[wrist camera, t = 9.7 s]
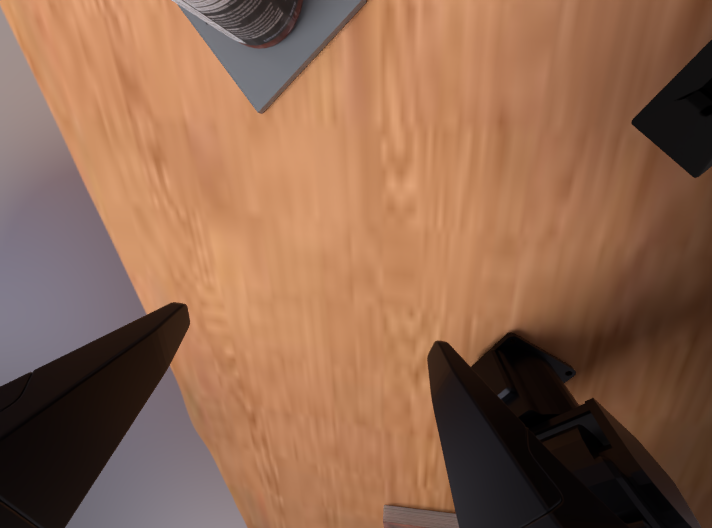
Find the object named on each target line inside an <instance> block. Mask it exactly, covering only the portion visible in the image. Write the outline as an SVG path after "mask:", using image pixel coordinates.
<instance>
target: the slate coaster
mask: <svg viewBox="0 0 712 528" xmlns="http://www.w3.org/2000/svg"><path fill="white" fill-rule="evenodd" d="M365 3H366V0H303V3H302V8H301V11H300V14H299V17H298V19H297V21H296V24H295V26H294V28H293V29H292V31H291V32H290V33H289V34H288V36H287V37H286V38H285V39H283V40H282V41H281V42H279V43H278V44H276V45H274V46H272V47H268V48H262V49H257V48H252V47H248V46H245V45H243V44H241V43H239V42H238V41H236V40H234V39H232V38H230V37H228V36H227V35H225V34H224V33H222V32H221V31H219V30H217V29H216V28H214V27H213V26H211V25H210V24H208V23H207V24H208V25H207V24H206V23H205V21H203V20H202V19H200V18H199V17H197V16H196V15H194V14H192V13H191V12H189V11H188V10H186V9H185V8H183V7H182V6H180V5H178V6H179V7H180V8H181V10H182V11H183V13H184V14H185V15H186V17H187V18H188V19H189V21H190V22H191V23H192V25H193V26H194V27H195V29H196V30H197V31H198V33H199V34H200V35H201V37H202V38H203V39H204V41H205V42H206V43H207V45H208V46H209V47H210V49H211V50H212V52H213V53H214V54H215V56H216V57H217V58H218V60H219V61H220V62H221V64H222V65H223V66H224V68H225V69H226V70H227V72H228V73H229V74H230V76H231V77H232V78H233V80H234V81H235V82H236V84H237V85H238V87H239V88H240V89H241V91H242V92H243V93H244V95H245V96H246V97H247V99H248V100H249V101H250V103H251V104H252V105H253V107H254V108H255V109H256V111H257V112H258V113H261V114H262V113H263V112H264V111H265V110H266V109H267V108H268V107H269V106H270V105H271V104H272V103H273V102H274V101H275V100H276V98H277V97H278V96H279V95H280V94H281V93H282V92H283V91H284V90H285V89H286V88H287V87H288V86H289V85H290V84H291V82H292V81H293V80H294V79H295V78H296V77H297V76H298V75H299V74H300V73H301V72H302V71H303V70H304V69H305V67H306V66H307V65H308V64H309V63H310V62H311V61H312V60H313V59H314V58H315V57H316V56H317V55H318V54H319V53H320V51H321V50H322V49H323V48H324V47H325V46H326V45H327V44H328V43H329V42H330V41H331V40H332V39H333V38H334V37H335V35H336V34H337V33H338V32H339V31H340V30H341V29H342V28H343V27H344V26H345V25H346V24H347V23H348V22H349V20H350V19H351V18H352V17H353V16H354V15H355V14H356V13H357V12H358V11H359V10H360V9H361V8H362V7H363V6H364V4H365Z"/></svg>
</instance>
